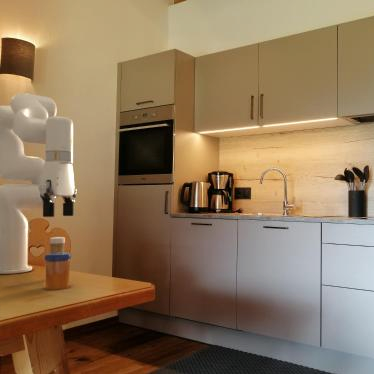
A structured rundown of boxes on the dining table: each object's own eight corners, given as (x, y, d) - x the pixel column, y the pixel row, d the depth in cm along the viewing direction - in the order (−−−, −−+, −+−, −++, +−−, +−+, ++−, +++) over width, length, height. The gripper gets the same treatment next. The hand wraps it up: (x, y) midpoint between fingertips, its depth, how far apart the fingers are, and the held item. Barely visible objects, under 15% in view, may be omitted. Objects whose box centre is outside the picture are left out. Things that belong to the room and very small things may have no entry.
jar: (41, 287, 123) (41, 255, 123) (62, 284, 128) (63, 253, 128) (52, 290, 119) (52, 257, 119) (73, 287, 124) (74, 255, 124)
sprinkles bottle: (65, 278, 137) (66, 237, 138) (50, 280, 135) (51, 238, 135) (63, 276, 141) (63, 236, 141) (48, 278, 138) (48, 237, 139)
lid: (40, 259, 123) (40, 253, 123) (63, 257, 129) (63, 251, 129) (52, 261, 119) (52, 255, 119) (75, 259, 125) (75, 253, 125)
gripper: (64, 161, 134) (63, 215, 133) (28, 155, 117) (27, 217, 116) (86, 161, 133) (86, 215, 132) (53, 155, 116) (52, 217, 115)
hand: (58, 216), depth 124 cm, fingers open, 9 cm apart
